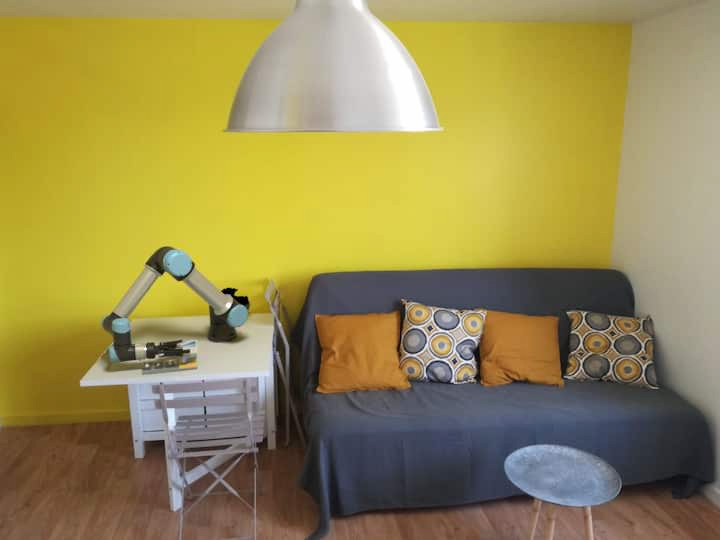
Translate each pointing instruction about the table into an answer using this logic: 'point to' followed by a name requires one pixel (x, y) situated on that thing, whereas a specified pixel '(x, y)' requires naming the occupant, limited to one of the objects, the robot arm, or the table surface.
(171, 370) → the breaker panel
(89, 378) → the table surface
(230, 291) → the bowl of black rocks
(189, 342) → the medicine box
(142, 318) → the table surface
